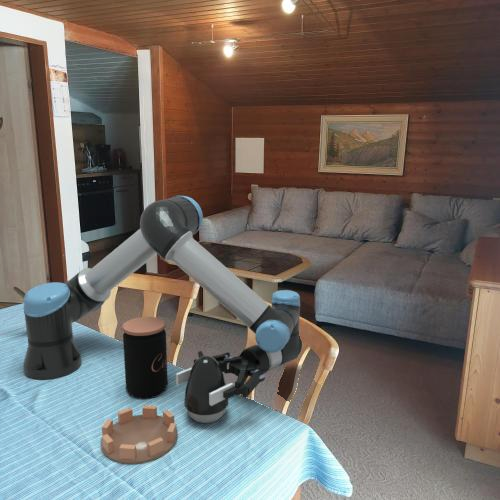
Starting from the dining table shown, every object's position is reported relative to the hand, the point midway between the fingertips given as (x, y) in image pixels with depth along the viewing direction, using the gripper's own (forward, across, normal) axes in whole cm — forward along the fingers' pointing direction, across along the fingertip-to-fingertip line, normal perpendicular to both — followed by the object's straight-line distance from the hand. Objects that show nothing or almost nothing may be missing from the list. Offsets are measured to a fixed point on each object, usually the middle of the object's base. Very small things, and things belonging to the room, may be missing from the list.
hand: (192, 389), depth 102 cm
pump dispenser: (-4, 0, -9) cm, 10 cm away
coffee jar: (-1, +20, -9) cm, 22 cm away
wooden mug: (+5, +77, -9) cm, 78 cm away
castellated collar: (+12, +3, -8) cm, 15 cm away
